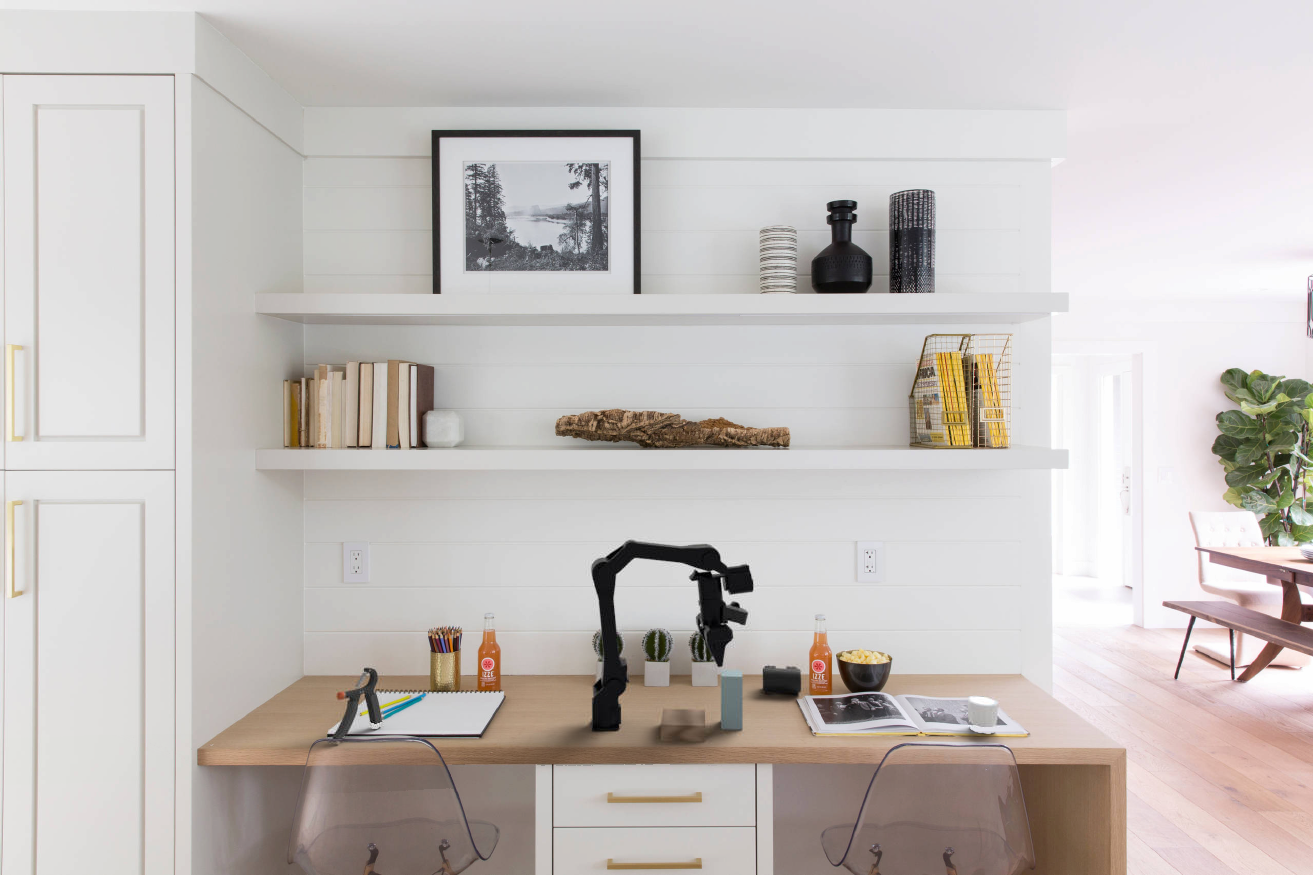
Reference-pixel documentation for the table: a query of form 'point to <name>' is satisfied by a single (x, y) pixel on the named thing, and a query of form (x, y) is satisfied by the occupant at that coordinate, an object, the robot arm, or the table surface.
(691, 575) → the robot arm
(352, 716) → the hand grip strengthener
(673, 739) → the walnut block
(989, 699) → the white cylinder
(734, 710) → the pillar
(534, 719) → the table surface
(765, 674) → the black rounded block
